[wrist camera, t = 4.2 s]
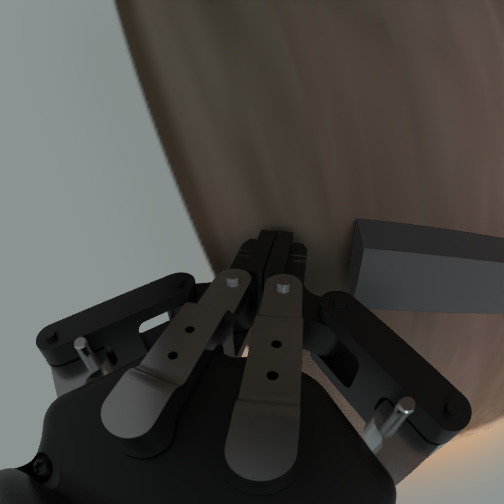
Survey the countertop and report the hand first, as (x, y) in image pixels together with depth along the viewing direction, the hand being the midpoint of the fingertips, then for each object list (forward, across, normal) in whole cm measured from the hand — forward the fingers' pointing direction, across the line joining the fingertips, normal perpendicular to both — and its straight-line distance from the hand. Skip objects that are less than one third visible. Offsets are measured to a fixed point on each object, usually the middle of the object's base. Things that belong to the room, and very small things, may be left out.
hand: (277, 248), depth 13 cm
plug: (+1, -14, 0) cm, 14 cm away
